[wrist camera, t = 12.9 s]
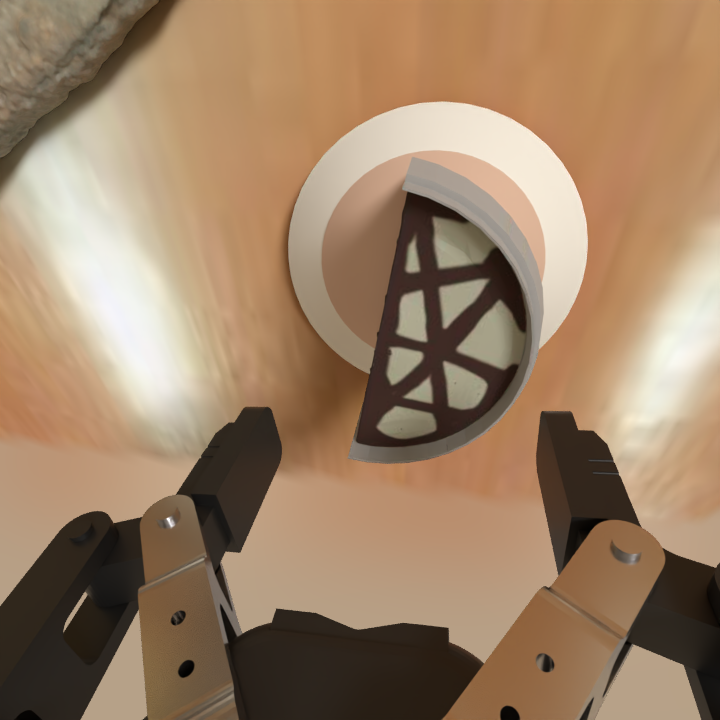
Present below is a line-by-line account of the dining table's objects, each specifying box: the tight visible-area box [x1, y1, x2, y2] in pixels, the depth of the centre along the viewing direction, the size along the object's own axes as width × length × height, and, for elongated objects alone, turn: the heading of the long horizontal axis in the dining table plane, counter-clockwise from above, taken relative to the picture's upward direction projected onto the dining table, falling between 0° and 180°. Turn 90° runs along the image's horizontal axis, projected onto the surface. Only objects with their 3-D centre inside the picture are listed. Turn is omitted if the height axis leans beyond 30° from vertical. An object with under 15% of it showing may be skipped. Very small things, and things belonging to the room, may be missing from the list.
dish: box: [288, 101, 588, 374], centre depth 25 cm, size 16×16×2 cm
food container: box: [348, 157, 544, 464], centre depth 20 cm, size 12×6×10 cm, turn 171°
